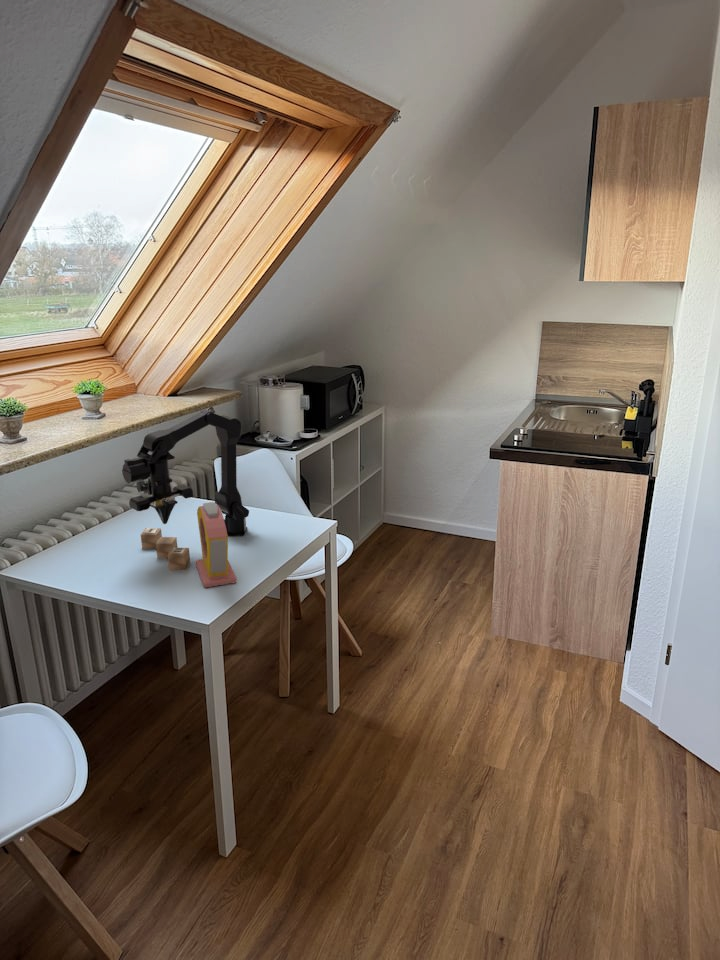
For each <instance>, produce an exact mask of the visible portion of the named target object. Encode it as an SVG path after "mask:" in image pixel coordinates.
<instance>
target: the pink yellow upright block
mask: <svg viewBox="0 0 720 960" xmlns="http://www.w3.org/2000/svg"><path fill="white" fill-rule="evenodd" d="M196 511H197V513H196V515H197V521H198V522H197V523H198V524H197V525H198V531H199V539H200V546H201V547H200V548H201V556H202V558H200V559H197V560H195V565H196V568H197V569H196V570H197V571H198V574H199V577H200V580H201V583H202V586H203V588H205V589H207V588H206V587H209V588H213V587H212V586H215V587H218V586H217V585H221V586H224V585H223V584H227V585H229V584H228V583H233V582H236V581H237V582H238V579H237V577H236V574H235V572H234V570H233V568H232V565H231V563H230V562H229V558H228V557H229V552H228V551H229V550H228V548H229V543H228V542H229V541H228V540H229V537H228V535H227V530H226V526H225V522H224V519H225V517H224V516H223V513H222V511H221V509H220V507H219V506H218V505H217V504H216V503H215V501H214V502H213V501H212V502H211V501H210V502H204V503H202V505H200V506H198V508H197V510H196ZM237 582H236V583H237ZM233 584H234V583H233Z"/></svg>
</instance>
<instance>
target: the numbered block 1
mask: <svg viewBox="0 0 720 960" xmlns="http://www.w3.org/2000/svg"><path fill="white" fill-rule="evenodd" d="M160 537H163V535H162V528H161V527H160V528H159V527H158V528H156V527H153V528H152V527H151V528H148V527H146V528H144V530H143V531H142V532H141V533H140V539H141V540H140V541H141V549H142V550H148V549H151V550H153V549H154V550H156V543H157V541H158V540H159V539H160Z"/></svg>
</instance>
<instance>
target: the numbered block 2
mask: <svg viewBox="0 0 720 960" xmlns="http://www.w3.org/2000/svg"><path fill="white" fill-rule="evenodd" d="M190 555H191V554H190V548H189V547H178V548H172V549H171V550H170V552H169V553H168V558H167V559H168V560H167V562H168V570H169V571H187V569H188V567H189V565H190V564H191V558H190V557H191V556H190Z"/></svg>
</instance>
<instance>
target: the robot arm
mask: <svg viewBox="0 0 720 960" xmlns="http://www.w3.org/2000/svg"><path fill="white" fill-rule="evenodd" d="M209 425H210V426H211V427H212V426H213V427H215V432H216V436H217V438H218V441H219V443H220V467H221V470H220V471H221V473H220V474H221V475H220V476H221V479H220V480H221V485H220V489H219V491H215V493H214V495H215V501H214V503H216V504H217V505H218V506H219V507H220V509H221V512H222V515H223V514H224V515H225V516H224V522H225V526H226V530H227V535H228V536H230V537H231V536H240V537H241V536H245V535H246V533H247V531H248V526H247V520H246V519H247V518H248V517H249V514H250V510H249V509H248V508H246V507H245V506H243V502H242V496H241V494H240V492H239V489H238V487H237V481H238V479H237V477H238V476H237V475H238V473H237V444H238V442H239V440H240V438H241V434H242V430H243V429H242V427H243V425H242V422H241V421H240V420H239V419H238V418H236V417H232V416H230V415H229V416H228V415H226V414H225V415H224V414H223V415H219V414H216V413H215V412H213V411H212V410H211V411H210V410H207V409H202V410H200V411H199V412H198V413H196V414H194V415H192V416H190V417H188V418H187V419H185V420H182V421H181V422H179V423H178V424H175V425H173V426H172V427H169V428H167V429H161V430H156V431H154V432H150V433H148V434H146V435H145V436H144V439H143V443H142V445H141V448H139V451H138V453H137V455H136V457H135V458H132V459H130V458H128V459H124V464H123V465H122V469H121V472H122V473H121V474H122V477H123V480H124V481H125V482H126V483H127V484H132V483H136V489H137V492H138V493H141V492H143V494H144V495H146V494H147V495H148V497H146V496H144V495H137V496H134V497H130V500H129V501H128V502H129V503H128V504H129V507H130V508H131V509H133V510H135V511H136V512H142V511H145V510H149V509H150V507H151V508H153V509H155V511H156V513H157V515H158V516H159V519H160V520H161V522H162V524H163V525H166V524H167V523H168V522H169V519H170V516H171V515H172V511H173V509H174V508H175V506H176V505H177V504H178V501H177V500H176V497H179V496H180V497H181V496H182V497H183V498H184V499H189V498H193V497H194V496H195V495H194V490H193V489H194V488H192V487H191V486H189V485H187V484H180V485H175V486H173V488H172V487H171V486H172V485H171V483H173V479H172V478H171V477H170V467H169V461H170V460H174V459H175V458H176V457H175V456H174V455H173V454H171V453H170V451H171V450H173V449H174V447H175V446H176V445H177V444H178V442H180V441H181V440H184V439H185V438H187V437H189V436H192V434H194V433H196V432H198V431H200V430H203V428H205V427H207V426H209ZM149 453H151V454H149ZM144 480H147V482H145V481H144Z"/></svg>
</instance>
